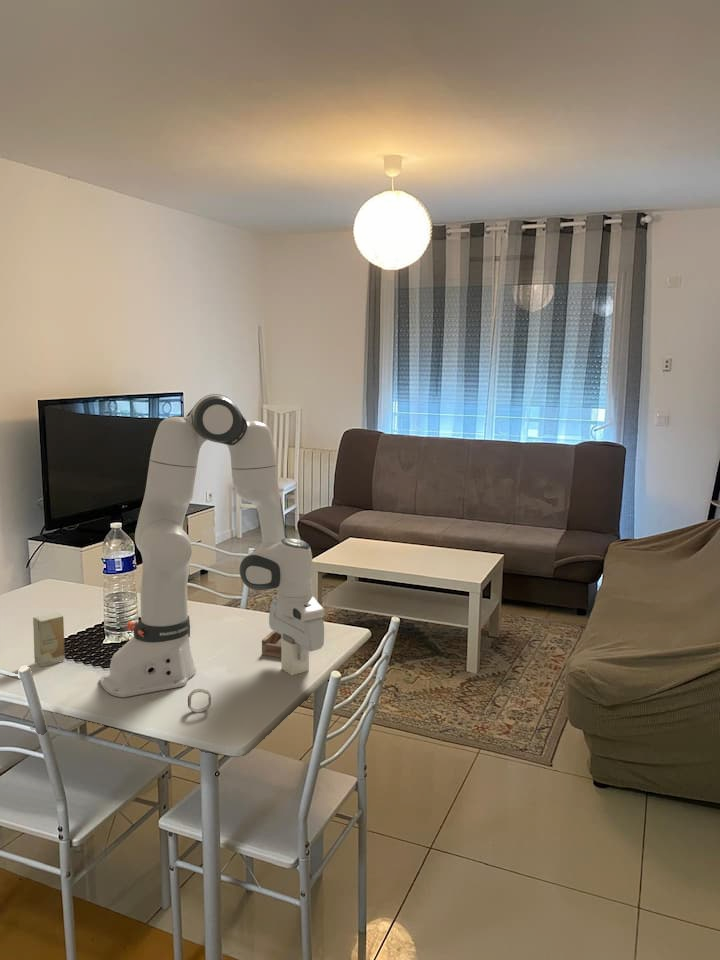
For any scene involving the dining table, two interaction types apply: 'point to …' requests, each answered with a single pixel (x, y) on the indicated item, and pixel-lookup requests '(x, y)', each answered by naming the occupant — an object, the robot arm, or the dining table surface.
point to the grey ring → (190, 700)
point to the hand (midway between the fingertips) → (295, 656)
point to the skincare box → (48, 639)
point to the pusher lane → (272, 644)
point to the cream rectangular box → (292, 657)
